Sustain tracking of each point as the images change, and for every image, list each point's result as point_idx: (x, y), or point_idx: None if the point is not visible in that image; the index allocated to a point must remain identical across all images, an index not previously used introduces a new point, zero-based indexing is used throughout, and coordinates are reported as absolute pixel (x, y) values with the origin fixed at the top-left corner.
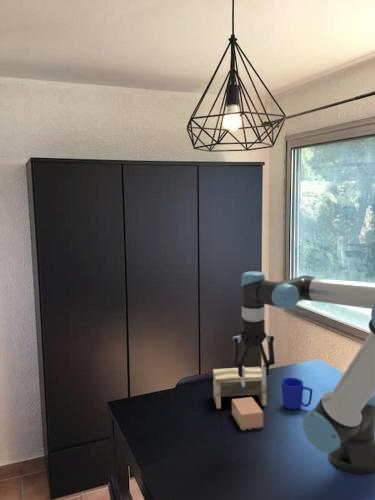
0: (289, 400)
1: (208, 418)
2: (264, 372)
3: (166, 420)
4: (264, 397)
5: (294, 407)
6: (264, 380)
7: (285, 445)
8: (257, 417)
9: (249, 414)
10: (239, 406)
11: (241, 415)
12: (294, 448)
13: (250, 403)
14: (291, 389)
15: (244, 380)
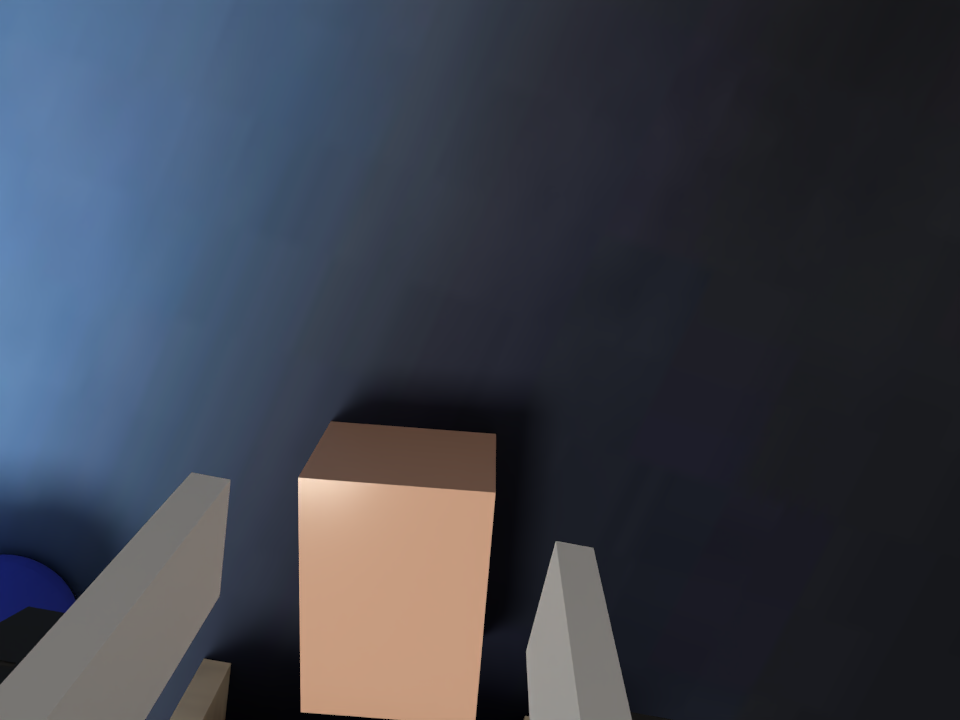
0: (10, 609)
1: (658, 631)
2: (76, 654)
3: (937, 689)
4: (190, 710)
5: (10, 561)
6: (174, 534)
7: (260, 150)
8: (358, 462)
9: (424, 484)
10: (457, 614)
11: (495, 492)
12: (208, 90)
13: (350, 628)
14: None
15: (576, 623)
